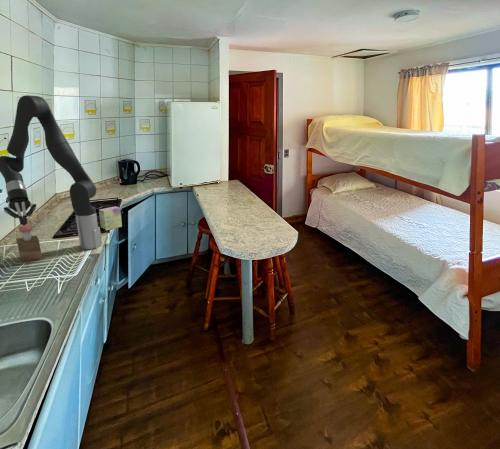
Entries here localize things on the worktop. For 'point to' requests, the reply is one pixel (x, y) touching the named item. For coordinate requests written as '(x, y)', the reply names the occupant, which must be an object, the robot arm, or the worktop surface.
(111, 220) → the box
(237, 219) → the worktop surface
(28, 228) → the red mushroom
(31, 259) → the housing
